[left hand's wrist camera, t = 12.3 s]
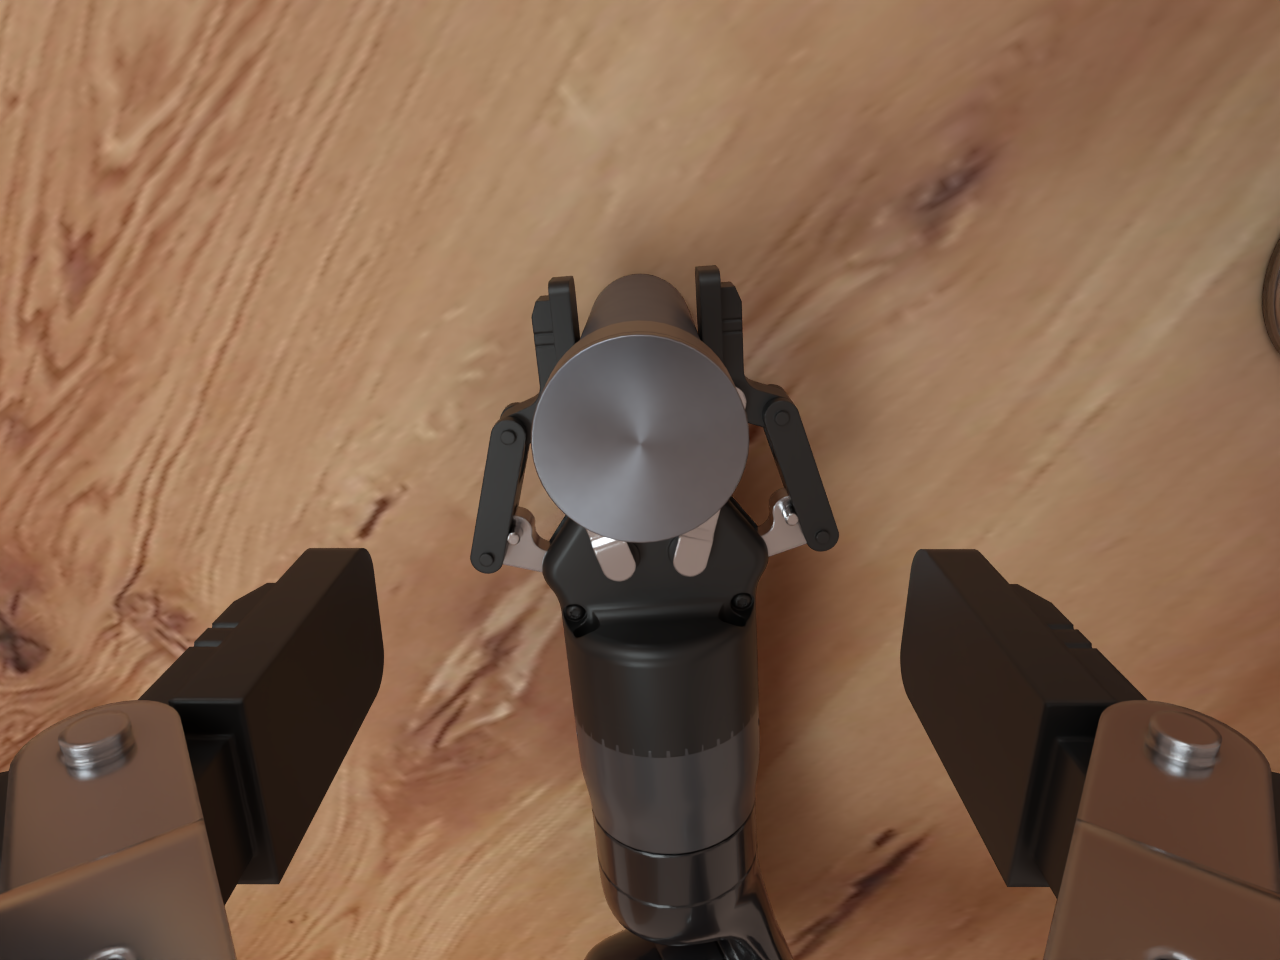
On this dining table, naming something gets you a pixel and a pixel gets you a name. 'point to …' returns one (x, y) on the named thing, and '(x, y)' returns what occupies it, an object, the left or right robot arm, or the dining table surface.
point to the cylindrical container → (640, 304)
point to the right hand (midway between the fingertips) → (633, 276)
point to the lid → (640, 432)
